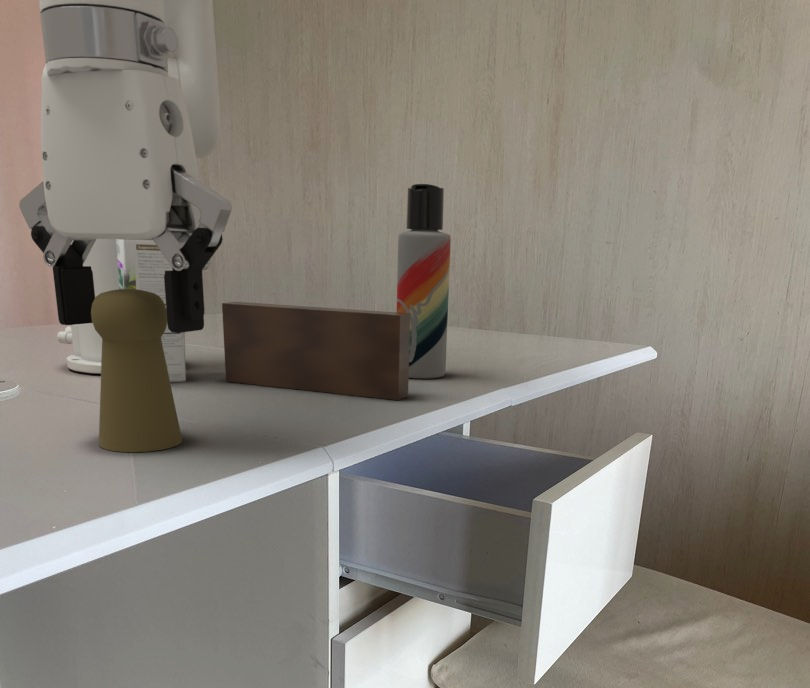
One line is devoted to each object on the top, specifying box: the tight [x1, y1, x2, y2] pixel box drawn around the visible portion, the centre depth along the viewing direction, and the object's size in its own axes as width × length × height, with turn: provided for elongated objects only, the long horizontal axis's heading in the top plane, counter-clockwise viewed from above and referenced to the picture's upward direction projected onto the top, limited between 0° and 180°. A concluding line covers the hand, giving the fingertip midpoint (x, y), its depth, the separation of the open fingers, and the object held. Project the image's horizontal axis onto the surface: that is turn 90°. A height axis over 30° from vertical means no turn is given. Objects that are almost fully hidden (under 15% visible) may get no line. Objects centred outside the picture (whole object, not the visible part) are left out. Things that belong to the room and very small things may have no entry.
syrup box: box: [116, 239, 187, 383], centre depth 86 cm, size 6×6×14 cm
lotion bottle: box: [396, 183, 452, 380], centre depth 91 cm, size 6×6×20 cm
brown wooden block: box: [221, 301, 410, 401], centre depth 84 cm, size 20×2×8 cm, turn 66°
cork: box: [91, 289, 183, 453], centre depth 61 cm, size 6×6×11 cm
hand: (131, 327), depth 59 cm, fingers open, 9 cm apart
